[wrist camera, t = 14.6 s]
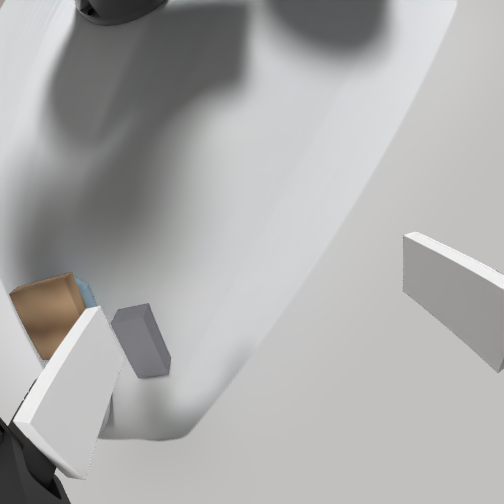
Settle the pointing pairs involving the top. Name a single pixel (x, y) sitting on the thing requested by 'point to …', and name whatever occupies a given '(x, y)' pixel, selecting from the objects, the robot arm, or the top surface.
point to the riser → (141, 341)
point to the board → (49, 310)
